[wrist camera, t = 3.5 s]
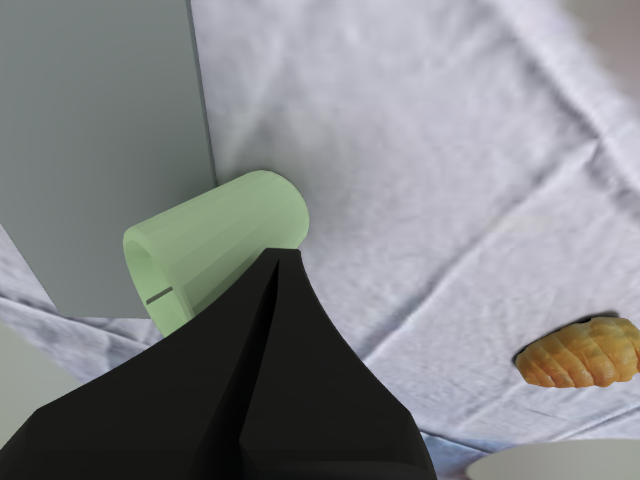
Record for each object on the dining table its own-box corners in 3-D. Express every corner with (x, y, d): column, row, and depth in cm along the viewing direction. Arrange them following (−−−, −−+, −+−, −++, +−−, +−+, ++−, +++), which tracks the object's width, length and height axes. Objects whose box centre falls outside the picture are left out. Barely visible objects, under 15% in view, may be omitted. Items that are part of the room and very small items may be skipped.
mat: (235, 316, 20) (234, 321, 20) (67, 311, 19) (61, 316, 19) (185, -31, 10) (179, -36, 9) (-176, -71, 9) (-200, -79, 9)
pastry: (519, 376, 26) (548, 416, 23) (502, 343, 23) (533, 384, 20) (620, 342, 24) (669, 382, 20) (615, 301, 21) (672, 339, 18)
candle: (230, 222, 16) (92, 313, 10) (243, 152, 13) (55, 216, 7) (294, 261, 16) (196, 384, 9) (324, 199, 13) (208, 316, 6)
